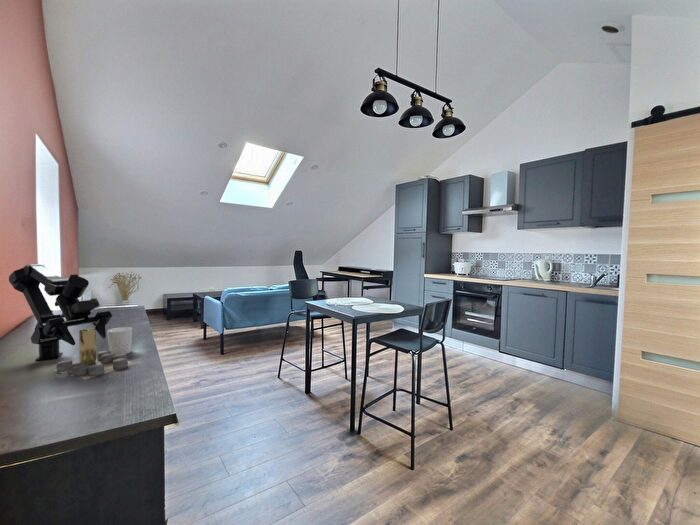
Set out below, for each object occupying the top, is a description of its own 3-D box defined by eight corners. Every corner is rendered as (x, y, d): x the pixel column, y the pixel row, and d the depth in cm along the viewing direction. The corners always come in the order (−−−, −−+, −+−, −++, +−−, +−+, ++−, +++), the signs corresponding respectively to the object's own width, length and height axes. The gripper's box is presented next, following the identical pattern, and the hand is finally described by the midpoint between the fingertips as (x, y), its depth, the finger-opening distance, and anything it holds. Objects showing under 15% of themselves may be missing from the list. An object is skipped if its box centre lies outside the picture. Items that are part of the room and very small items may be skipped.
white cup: (119, 358, 122) (119, 332, 122) (102, 357, 124) (101, 331, 123) (137, 352, 130) (137, 327, 130) (120, 351, 131) (120, 326, 131)
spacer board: (53, 372, 107) (53, 363, 107) (106, 358, 122) (106, 349, 122) (86, 382, 100) (86, 371, 100) (139, 365, 114) (138, 356, 114)
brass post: (81, 363, 114) (80, 329, 114) (97, 361, 116) (96, 328, 116) (78, 367, 110) (77, 332, 110) (94, 365, 112) (94, 330, 112)
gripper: (46, 295, 105) (66, 332, 101) (108, 289, 122) (128, 320, 118) (34, 317, 109) (53, 354, 105) (96, 308, 126) (115, 340, 122)
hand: (90, 341), depth 112 cm, fingers open, 9 cm apart
